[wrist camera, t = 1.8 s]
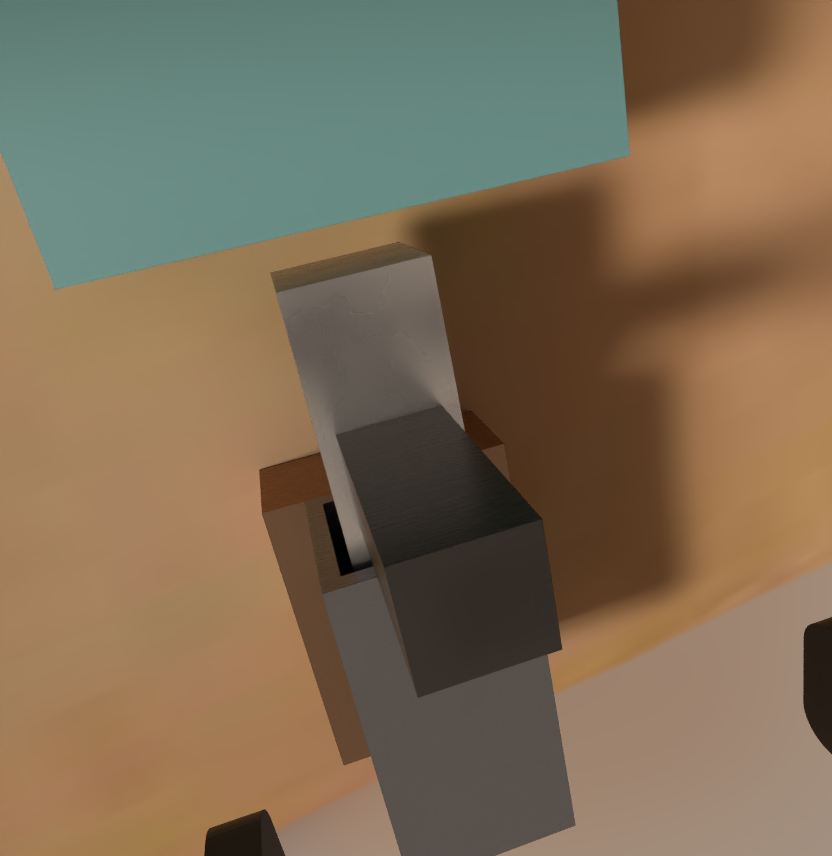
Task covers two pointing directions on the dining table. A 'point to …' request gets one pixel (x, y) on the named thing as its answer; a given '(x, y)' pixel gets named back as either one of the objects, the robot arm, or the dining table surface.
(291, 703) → the dining table surface
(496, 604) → the grey angled block
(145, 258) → the teal flat panel
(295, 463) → the sleeve
